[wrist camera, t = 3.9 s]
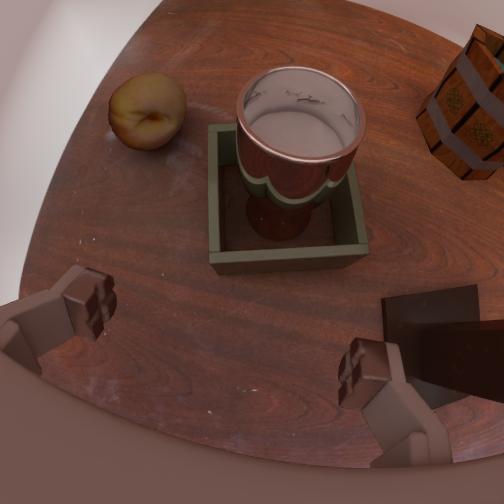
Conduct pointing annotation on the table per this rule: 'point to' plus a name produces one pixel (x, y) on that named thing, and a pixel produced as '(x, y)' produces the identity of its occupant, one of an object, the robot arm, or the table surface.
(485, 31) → the mug
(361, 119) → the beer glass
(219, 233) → the holder
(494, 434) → the table surface
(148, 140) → the fruit
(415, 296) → the stand post
